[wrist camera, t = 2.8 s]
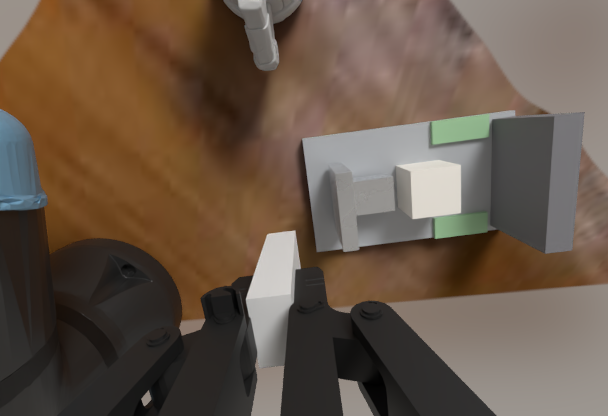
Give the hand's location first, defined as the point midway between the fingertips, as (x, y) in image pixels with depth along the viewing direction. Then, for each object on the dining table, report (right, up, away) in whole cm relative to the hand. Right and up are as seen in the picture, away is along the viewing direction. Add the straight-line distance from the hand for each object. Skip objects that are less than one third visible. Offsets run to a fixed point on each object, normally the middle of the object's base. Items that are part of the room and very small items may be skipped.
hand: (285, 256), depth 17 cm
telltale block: (+12, +5, +12) cm, 18 cm away
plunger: (+6, +4, +12) cm, 14 cm away
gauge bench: (+11, +5, +13) cm, 18 cm away
